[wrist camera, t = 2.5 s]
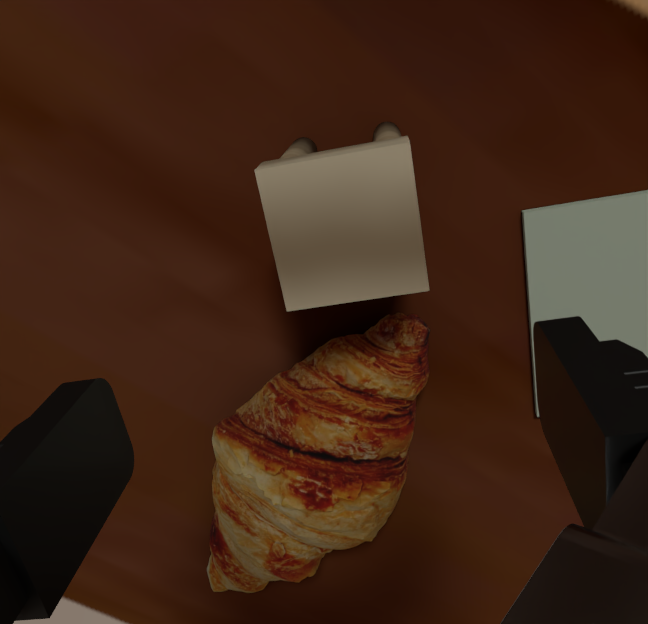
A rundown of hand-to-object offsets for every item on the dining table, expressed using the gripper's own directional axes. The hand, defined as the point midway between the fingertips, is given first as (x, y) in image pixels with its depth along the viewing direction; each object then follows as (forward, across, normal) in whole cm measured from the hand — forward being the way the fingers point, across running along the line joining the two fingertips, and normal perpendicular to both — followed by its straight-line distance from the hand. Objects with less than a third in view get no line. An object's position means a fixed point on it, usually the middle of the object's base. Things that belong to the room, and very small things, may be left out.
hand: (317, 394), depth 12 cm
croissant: (+19, +5, +14) cm, 24 cm away
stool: (+19, 0, 0) cm, 19 cm away
